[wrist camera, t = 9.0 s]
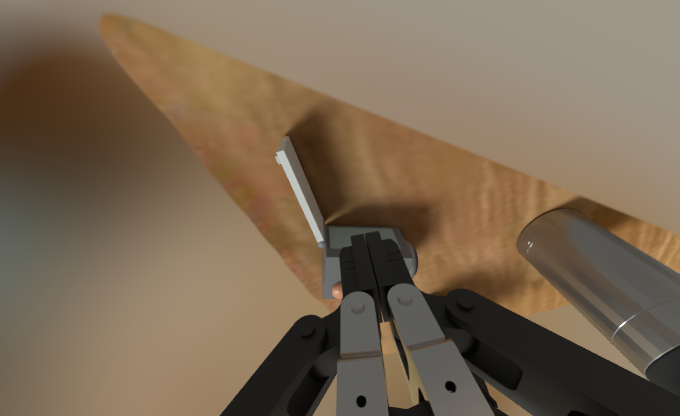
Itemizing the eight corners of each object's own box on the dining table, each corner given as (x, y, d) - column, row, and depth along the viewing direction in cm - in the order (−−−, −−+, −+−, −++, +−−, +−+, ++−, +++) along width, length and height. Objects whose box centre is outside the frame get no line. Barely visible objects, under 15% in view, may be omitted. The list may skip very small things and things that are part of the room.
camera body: (409, 226, 34) (428, 262, 28) (398, 264, 37) (412, 303, 32) (324, 224, 32) (326, 261, 27) (321, 264, 36) (323, 304, 30)
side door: (278, 138, 26) (271, 154, 22) (289, 134, 26) (284, 150, 22) (316, 225, 32) (316, 249, 28) (325, 222, 32) (327, 246, 28)
